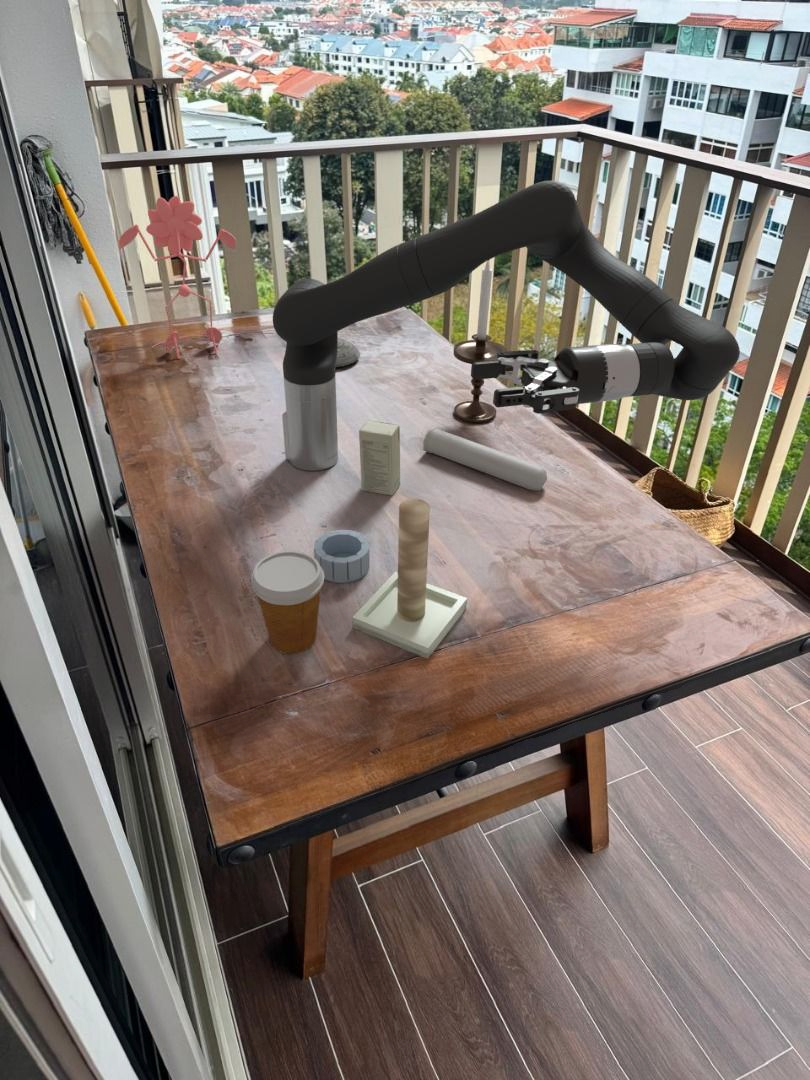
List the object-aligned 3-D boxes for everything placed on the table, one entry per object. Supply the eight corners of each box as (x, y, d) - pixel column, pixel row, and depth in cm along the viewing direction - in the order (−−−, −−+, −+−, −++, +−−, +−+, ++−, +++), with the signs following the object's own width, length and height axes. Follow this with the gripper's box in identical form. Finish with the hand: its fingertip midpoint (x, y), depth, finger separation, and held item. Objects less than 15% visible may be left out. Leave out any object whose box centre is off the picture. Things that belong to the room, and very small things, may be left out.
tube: (555, 466, 137) (440, 425, 148) (543, 469, 133) (426, 427, 144) (547, 493, 139) (434, 451, 150) (535, 497, 135) (420, 453, 146)
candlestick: (463, 398, 168) (476, 234, 147) (508, 410, 163) (527, 242, 143) (440, 417, 160) (450, 246, 139) (486, 430, 156) (503, 256, 135)
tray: (352, 627, 107) (352, 617, 105) (395, 581, 115) (395, 571, 114) (427, 658, 102) (428, 648, 101) (466, 608, 110) (467, 598, 109)
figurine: (251, 350, 187) (234, 198, 167) (144, 365, 178) (113, 206, 158) (237, 330, 198) (220, 186, 178) (135, 343, 190) (105, 193, 170)
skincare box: (400, 484, 138) (402, 424, 131) (392, 496, 134) (393, 435, 127) (368, 478, 139) (367, 418, 132) (359, 490, 136) (358, 429, 129)
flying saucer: (326, 343, 193) (325, 322, 189) (372, 358, 186) (372, 336, 182) (285, 361, 183) (284, 339, 180) (332, 377, 176) (331, 355, 172)
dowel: (392, 615, 107) (393, 510, 97) (405, 599, 110) (408, 495, 100) (416, 625, 106) (420, 519, 95) (429, 609, 109) (435, 504, 98)
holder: (304, 571, 116) (303, 551, 114) (335, 544, 122) (334, 524, 120) (350, 590, 113) (349, 569, 111) (379, 560, 119) (379, 540, 117)
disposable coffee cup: (260, 616, 108) (252, 549, 101) (327, 613, 109) (324, 547, 102) (255, 664, 100) (246, 595, 93) (327, 661, 101) (324, 592, 94)
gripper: (577, 327, 105) (466, 336, 101) (627, 368, 94) (505, 380, 90) (568, 378, 109) (462, 388, 105) (616, 422, 98) (499, 436, 94)
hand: (482, 384), depth 98 cm, fingers open, 8 cm apart
